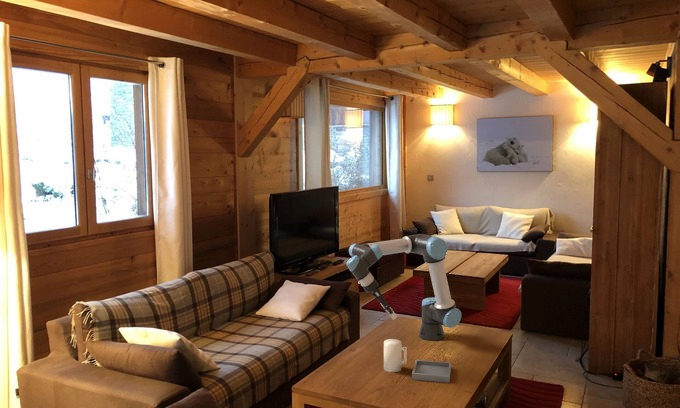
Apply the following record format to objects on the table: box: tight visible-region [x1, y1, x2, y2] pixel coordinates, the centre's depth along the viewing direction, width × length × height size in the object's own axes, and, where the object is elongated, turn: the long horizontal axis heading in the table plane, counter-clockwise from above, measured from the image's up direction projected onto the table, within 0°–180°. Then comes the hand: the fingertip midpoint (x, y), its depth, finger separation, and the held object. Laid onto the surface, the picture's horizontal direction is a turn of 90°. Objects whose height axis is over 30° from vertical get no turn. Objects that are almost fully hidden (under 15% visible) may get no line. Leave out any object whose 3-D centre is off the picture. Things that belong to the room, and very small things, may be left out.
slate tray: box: [411, 359, 452, 384], centre depth 281 cm, size 18×18×3 cm
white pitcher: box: [383, 338, 408, 373], centre depth 287 cm, size 9×12×14 cm
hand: (392, 314), depth 294 cm, fingers open, 13 cm apart
